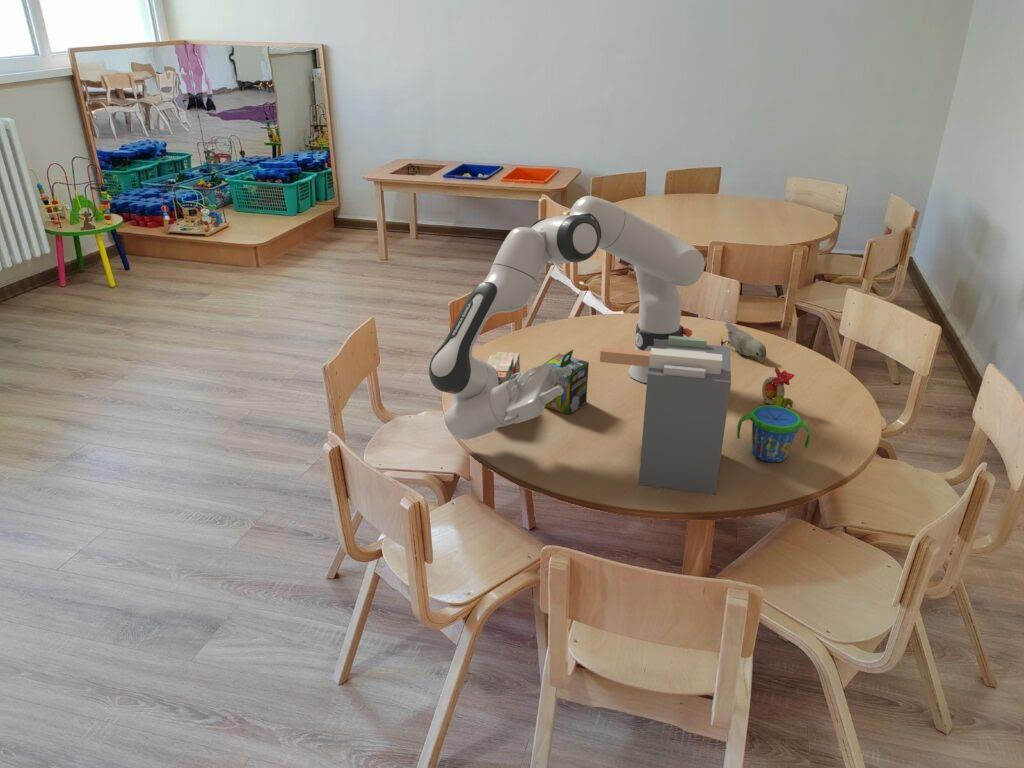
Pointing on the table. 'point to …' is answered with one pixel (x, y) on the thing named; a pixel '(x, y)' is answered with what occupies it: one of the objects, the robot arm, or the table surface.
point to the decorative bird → (744, 343)
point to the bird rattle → (777, 389)
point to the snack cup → (773, 431)
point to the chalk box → (570, 383)
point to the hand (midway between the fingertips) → (566, 379)
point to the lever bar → (662, 358)
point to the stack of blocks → (505, 365)
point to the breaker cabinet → (685, 421)
